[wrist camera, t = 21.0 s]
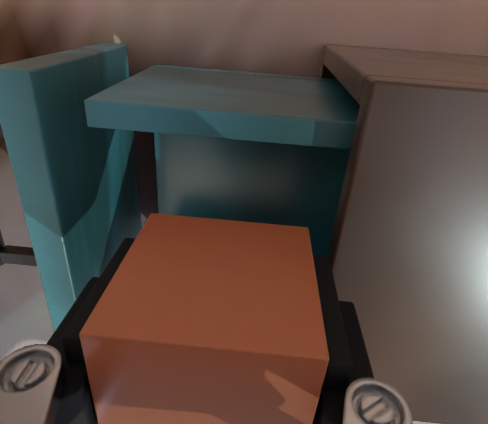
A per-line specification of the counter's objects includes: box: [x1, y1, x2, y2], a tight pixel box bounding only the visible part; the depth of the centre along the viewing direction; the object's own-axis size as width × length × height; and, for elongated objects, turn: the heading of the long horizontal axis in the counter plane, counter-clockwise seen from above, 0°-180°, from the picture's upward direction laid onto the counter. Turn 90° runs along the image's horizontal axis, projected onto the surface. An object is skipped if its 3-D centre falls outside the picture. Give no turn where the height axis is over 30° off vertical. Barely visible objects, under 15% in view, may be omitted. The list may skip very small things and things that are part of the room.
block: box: [79, 213, 329, 424], centre depth 10 cm, size 5×5×5 cm
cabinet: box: [319, 44, 488, 424], centre depth 16 cm, size 15×13×10 cm
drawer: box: [0, 43, 360, 332], centre depth 16 cm, size 18×11×8 cm, turn 86°
